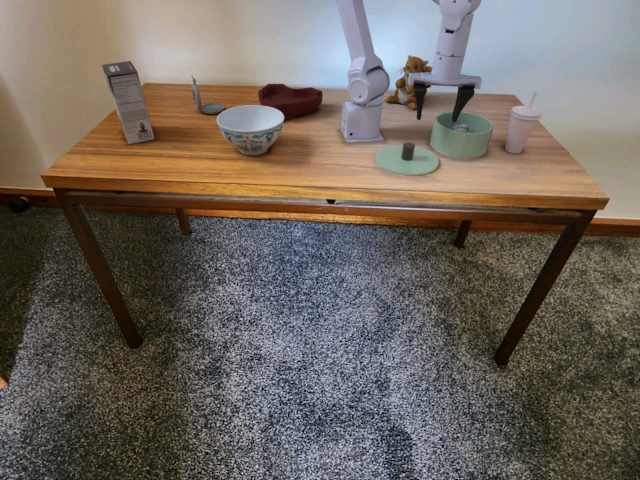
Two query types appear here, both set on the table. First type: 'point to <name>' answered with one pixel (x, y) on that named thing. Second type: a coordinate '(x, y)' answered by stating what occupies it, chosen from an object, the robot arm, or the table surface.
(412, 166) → the lid
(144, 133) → the coffee box
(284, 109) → the dark red heart-shaped dish
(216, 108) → the pocket watch
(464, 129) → the seashell
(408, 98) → the stuffed squirrel
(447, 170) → the table surface
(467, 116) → the crock
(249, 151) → the chinaware
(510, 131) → the smoothie
